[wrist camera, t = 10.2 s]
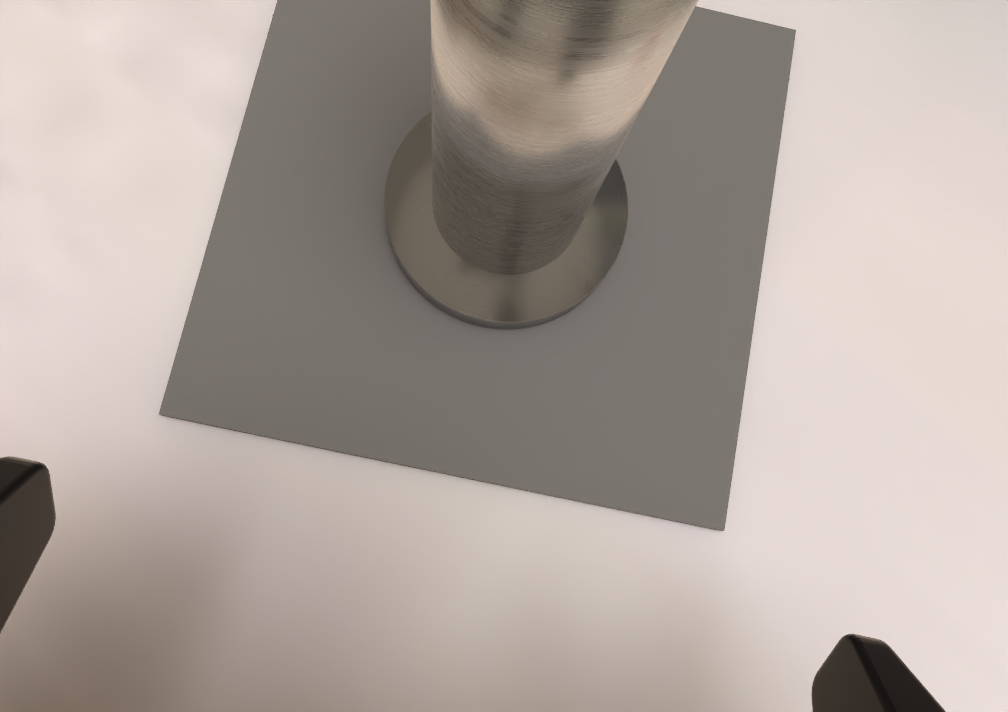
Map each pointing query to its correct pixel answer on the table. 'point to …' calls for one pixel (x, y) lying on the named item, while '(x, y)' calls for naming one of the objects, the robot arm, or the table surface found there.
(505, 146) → the flanged metal post
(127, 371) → the table surface
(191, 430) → the table surface
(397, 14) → the mat
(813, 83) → the table surface
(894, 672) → the robot arm
